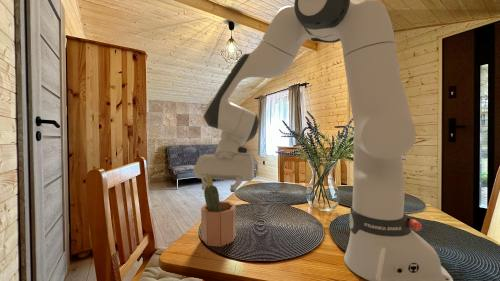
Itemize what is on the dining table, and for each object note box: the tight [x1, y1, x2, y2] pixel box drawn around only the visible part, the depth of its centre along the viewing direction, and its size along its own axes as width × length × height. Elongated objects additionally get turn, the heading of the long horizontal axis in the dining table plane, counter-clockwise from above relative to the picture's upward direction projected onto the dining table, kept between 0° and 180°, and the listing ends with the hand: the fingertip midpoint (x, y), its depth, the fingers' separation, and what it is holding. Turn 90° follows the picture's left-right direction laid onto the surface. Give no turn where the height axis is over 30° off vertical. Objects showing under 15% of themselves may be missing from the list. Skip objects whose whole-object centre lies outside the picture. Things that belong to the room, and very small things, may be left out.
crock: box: [200, 200, 237, 248], centre depth 73 cm, size 10×10×10 cm
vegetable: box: [203, 173, 221, 212], centre depth 72 cm, size 4×4×20 cm
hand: (218, 190), depth 71 cm, fingers open, 8 cm apart
